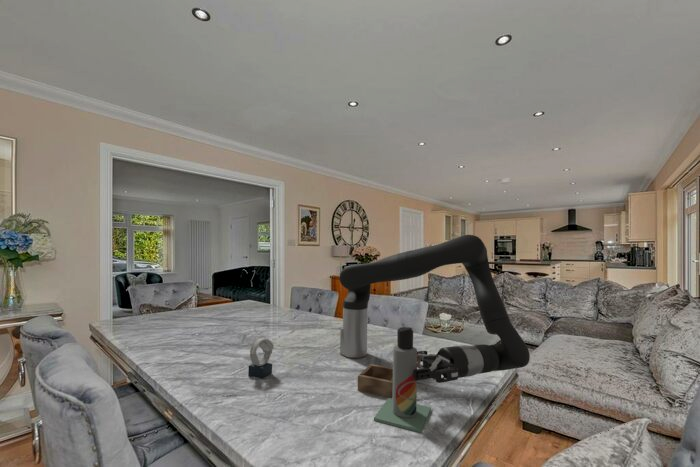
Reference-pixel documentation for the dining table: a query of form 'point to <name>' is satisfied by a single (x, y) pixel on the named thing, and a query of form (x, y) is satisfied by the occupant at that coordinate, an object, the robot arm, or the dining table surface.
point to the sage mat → (408, 423)
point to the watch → (261, 367)
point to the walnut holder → (376, 380)
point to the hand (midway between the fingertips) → (404, 368)
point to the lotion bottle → (404, 374)
